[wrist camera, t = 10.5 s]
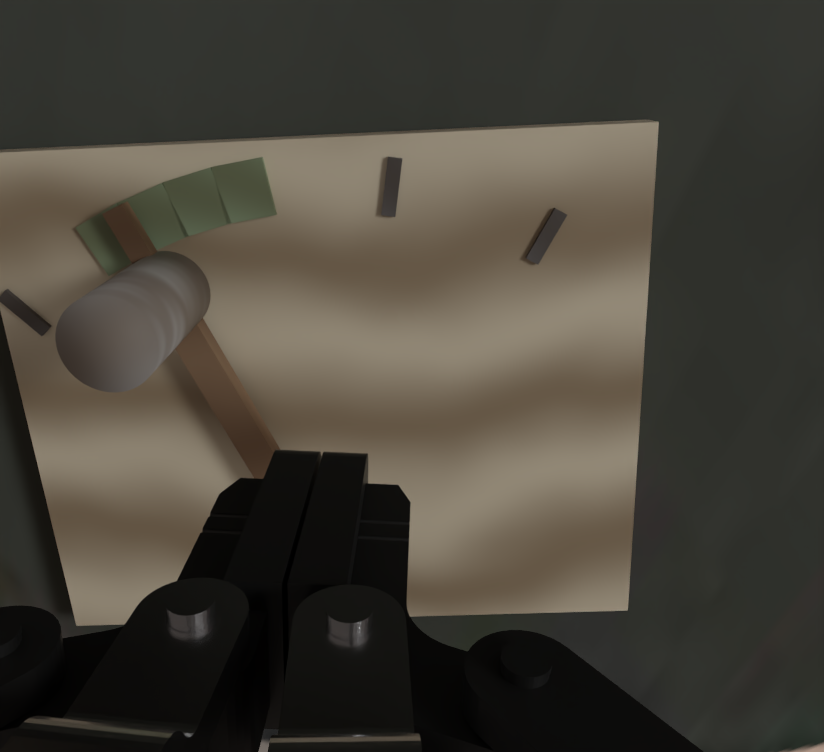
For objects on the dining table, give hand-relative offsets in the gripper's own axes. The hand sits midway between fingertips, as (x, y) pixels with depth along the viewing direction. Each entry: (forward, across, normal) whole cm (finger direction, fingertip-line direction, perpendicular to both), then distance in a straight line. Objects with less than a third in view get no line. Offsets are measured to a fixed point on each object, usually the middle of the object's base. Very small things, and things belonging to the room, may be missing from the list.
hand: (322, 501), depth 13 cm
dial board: (+18, +2, +6) cm, 19 cm away
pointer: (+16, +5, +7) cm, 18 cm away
